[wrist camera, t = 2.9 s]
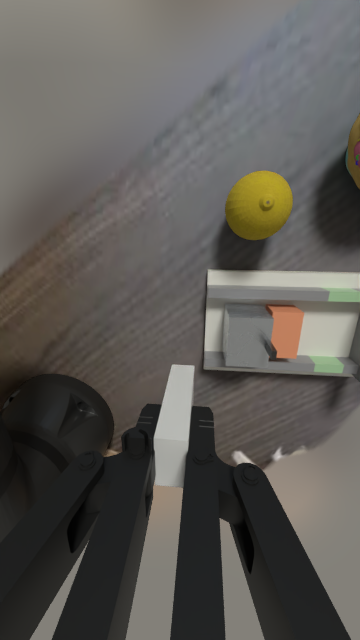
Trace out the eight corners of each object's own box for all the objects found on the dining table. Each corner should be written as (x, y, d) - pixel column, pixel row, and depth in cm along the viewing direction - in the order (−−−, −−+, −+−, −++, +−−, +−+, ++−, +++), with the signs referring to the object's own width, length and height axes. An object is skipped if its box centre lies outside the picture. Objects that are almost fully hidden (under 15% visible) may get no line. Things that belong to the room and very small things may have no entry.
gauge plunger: (221, 344, 29) (228, 378, 22) (224, 303, 28) (232, 326, 21) (256, 346, 29) (274, 381, 22) (261, 304, 28) (281, 328, 21)
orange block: (260, 345, 29) (266, 357, 27) (265, 304, 28) (273, 311, 25) (287, 346, 29) (296, 358, 26) (293, 305, 28) (304, 312, 25)
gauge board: (203, 364, 32) (203, 399, 25) (207, 269, 28) (209, 280, 22) (351, 371, 31) (393, 410, 24) (376, 272, 27) (435, 285, 20)
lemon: (212, 222, 27) (215, 216, 19) (242, 170, 25) (259, 142, 17) (255, 249, 27) (275, 254, 20) (288, 200, 26) (324, 186, 18)
